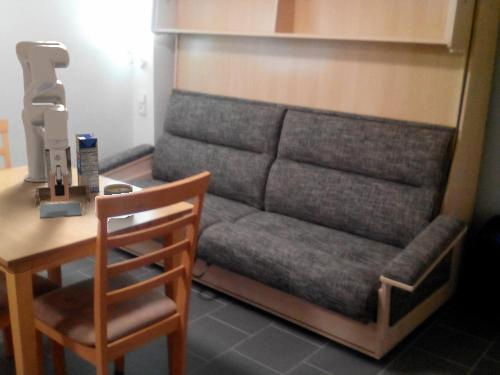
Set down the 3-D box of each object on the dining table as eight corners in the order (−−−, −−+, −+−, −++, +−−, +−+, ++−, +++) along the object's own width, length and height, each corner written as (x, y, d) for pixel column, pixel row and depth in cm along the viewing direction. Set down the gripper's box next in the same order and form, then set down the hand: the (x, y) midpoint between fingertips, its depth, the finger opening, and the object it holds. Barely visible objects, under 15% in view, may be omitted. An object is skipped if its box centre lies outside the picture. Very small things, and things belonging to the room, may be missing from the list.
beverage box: (82, 193, 215) (79, 139, 209) (78, 186, 225) (75, 134, 219) (99, 192, 218) (97, 138, 212) (94, 184, 228) (92, 133, 222)
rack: (36, 197, 208) (36, 187, 206) (88, 194, 214) (88, 185, 213) (35, 205, 199) (35, 195, 198) (90, 202, 205) (89, 192, 204)
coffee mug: (101, 211, 195) (100, 185, 192) (128, 208, 200) (127, 182, 197) (112, 223, 184) (111, 195, 181) (140, 219, 189) (139, 192, 186)
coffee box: (59, 181, 230) (56, 145, 226) (72, 183, 229) (70, 146, 224) (47, 187, 221) (44, 149, 217) (61, 188, 220) (59, 150, 216)
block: (68, 196, 196) (67, 170, 194) (69, 200, 192) (67, 173, 189) (51, 197, 194) (49, 171, 192) (51, 201, 190) (49, 174, 187)
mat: (40, 205, 198) (40, 204, 198) (80, 203, 203) (80, 202, 203) (39, 218, 186) (39, 216, 186) (82, 215, 190) (81, 214, 190)
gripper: (68, 148, 181) (71, 199, 186) (67, 138, 197) (70, 186, 201) (45, 148, 179) (48, 201, 184) (45, 139, 194) (49, 187, 199)
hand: (59, 192), depth 192 cm, fingers closed on block, 5 cm apart
